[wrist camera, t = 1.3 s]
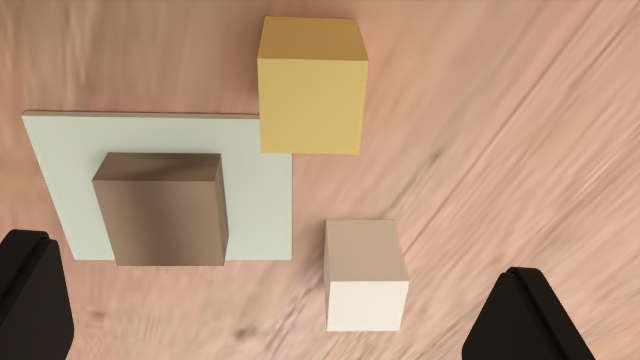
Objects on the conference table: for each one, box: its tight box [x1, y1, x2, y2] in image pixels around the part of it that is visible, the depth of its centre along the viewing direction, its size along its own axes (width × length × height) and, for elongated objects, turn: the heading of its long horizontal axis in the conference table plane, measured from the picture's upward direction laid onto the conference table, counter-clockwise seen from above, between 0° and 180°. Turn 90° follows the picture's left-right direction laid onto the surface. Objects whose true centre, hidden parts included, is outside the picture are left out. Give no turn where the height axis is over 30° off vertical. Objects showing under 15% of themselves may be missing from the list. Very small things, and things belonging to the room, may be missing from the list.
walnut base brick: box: [91, 152, 229, 266], centre depth 31 cm, size 7×7×3 cm
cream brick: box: [323, 219, 409, 331], centre depth 34 cm, size 5×5×6 cm
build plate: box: [21, 111, 292, 260], centre depth 32 cm, size 16×12×1 cm
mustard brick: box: [257, 16, 369, 154], centre depth 25 cm, size 5×5×6 cm
